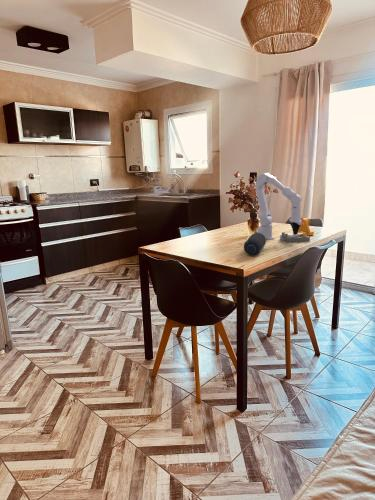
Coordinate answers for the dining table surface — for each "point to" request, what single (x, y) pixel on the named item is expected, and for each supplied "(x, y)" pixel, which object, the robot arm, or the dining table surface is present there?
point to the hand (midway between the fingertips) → (295, 234)
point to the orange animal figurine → (305, 227)
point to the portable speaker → (254, 244)
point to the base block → (294, 238)
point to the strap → (293, 234)
